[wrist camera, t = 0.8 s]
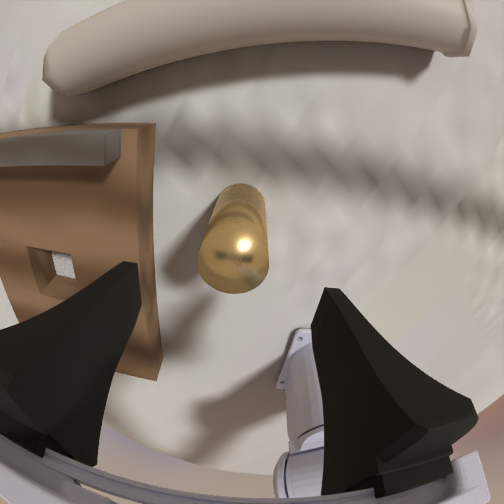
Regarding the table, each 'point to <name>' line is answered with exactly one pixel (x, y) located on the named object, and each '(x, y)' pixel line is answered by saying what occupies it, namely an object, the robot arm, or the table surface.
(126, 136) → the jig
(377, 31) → the tube
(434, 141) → the table surface
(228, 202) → the brass cylinder
